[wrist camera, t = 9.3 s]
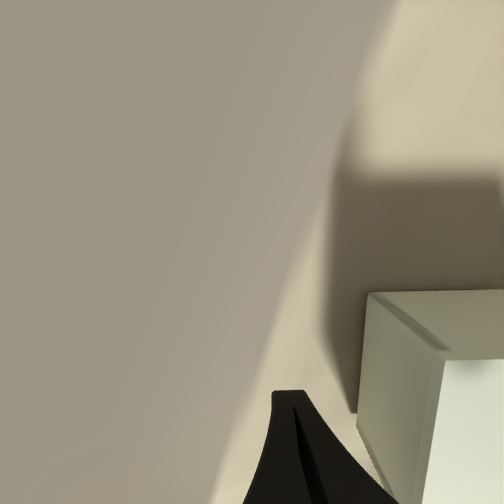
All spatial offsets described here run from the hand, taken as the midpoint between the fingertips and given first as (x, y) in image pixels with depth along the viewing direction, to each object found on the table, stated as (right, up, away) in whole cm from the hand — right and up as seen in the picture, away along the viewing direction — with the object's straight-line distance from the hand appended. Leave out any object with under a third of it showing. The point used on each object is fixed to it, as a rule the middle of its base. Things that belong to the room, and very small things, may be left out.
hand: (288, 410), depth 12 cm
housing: (+8, +1, +3) cm, 9 cm away
